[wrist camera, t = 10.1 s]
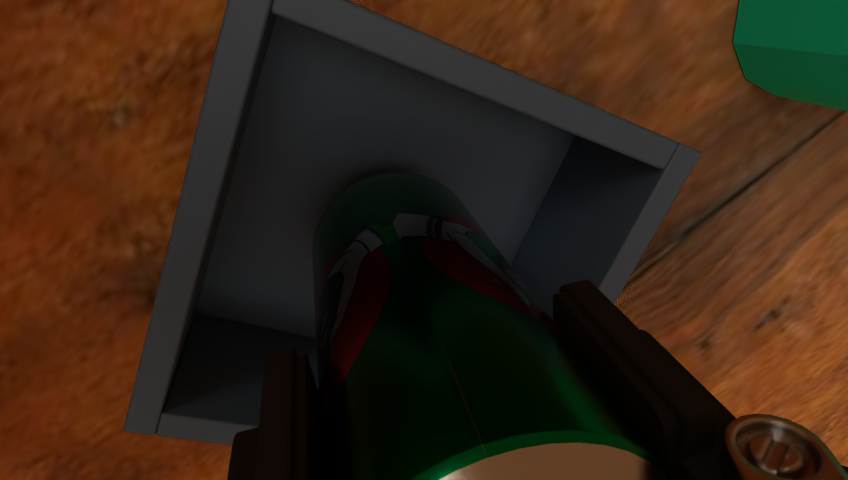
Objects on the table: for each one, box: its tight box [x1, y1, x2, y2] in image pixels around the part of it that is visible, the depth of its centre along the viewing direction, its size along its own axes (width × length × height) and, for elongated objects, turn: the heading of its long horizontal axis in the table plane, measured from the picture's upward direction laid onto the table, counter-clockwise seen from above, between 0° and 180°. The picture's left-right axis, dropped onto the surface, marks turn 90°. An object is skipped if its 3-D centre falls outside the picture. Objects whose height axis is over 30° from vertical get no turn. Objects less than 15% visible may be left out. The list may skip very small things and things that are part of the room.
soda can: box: [312, 172, 673, 480], centre depth 12 cm, size 5×5×12 cm
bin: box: [124, 0, 701, 445], centre depth 17 cm, size 12×12×6 cm
